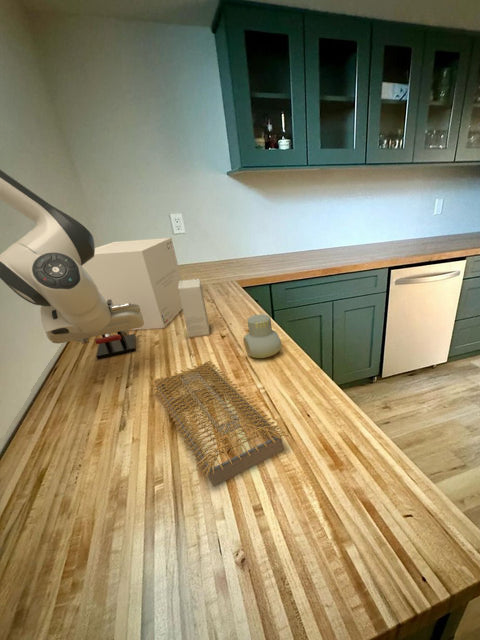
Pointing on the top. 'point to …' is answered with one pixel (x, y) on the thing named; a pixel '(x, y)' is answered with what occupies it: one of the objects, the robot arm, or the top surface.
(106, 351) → the bracket
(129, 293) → the cube
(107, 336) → the lever
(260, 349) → the air freshener
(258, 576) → the top surface
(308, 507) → the top surface
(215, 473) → the rafter model
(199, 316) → the cosmetic box
